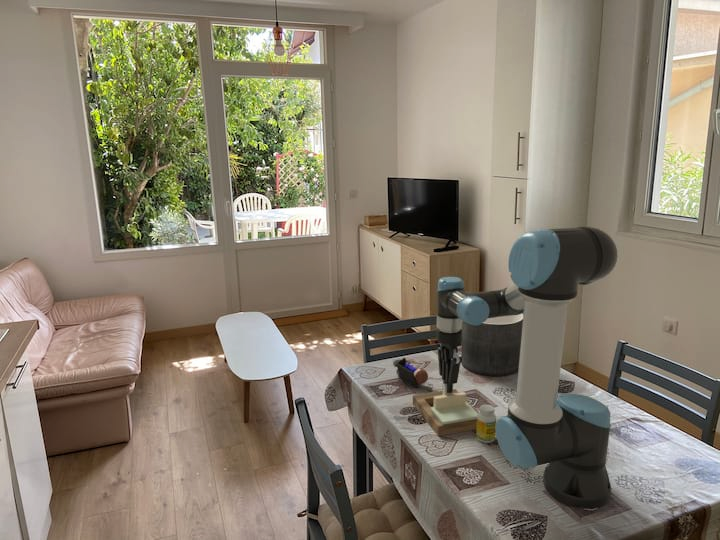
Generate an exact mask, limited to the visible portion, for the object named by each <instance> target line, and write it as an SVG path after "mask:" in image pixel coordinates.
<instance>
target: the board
mask: <svg viewBox="0 0 720 540" xmlns="http://www.w3.org/2000/svg"><path fill="white" fill-rule="evenodd" d="M453 393H460V392H459V391H458V390H457V389H456V388H453ZM440 395H443V390H438V391H434V392H433V391H431V392H427V393H420V394H412V405H413V406H414V407H415V409H416V410H417V412H419V414H420V415H421V416H422V418H423V419H424V421H426V423H427V424H428V425H429V426H430V428H431V429H432V430H433V432H434V433H435V434H436V436H438V437H441V436H446V435H450V434H457V433H463V432H468V431H475V430H477V419H474V420H468V421H462V422H456V423H450V424H444V425H443V424H442V423H441V422H440V421H439V420H438V418H437V417H436V416H435V415H434V414H433V412H432V411H431V410H430V407H433V403H434V396H440ZM466 402H467V403H468V404H469V405H470V406H471V407H472V408H473V409H474V410H475V411H476V412H477V413H479V412H480V411H478V410H477V409H476V408H475V407H474V406H473V404H471V403H470V402H469V401H468V400H467V399H466Z"/></svg>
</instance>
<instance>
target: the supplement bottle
mask: <svg viewBox="0 0 720 540" xmlns="http://www.w3.org/2000/svg"><path fill="white" fill-rule="evenodd" d="M478 412H479V413H478V415H477V429H476V433H475V434H476V439H477V440H478V441H480V442H482V443H487V444H488V443H493V442H494V441H496V437H497V436H496V428H495V427H496V422H497V416H496V414H495V407H494V406H492V405H491V404H481V405H480V406H479V411H478Z"/></svg>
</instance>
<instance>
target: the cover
mask: <svg viewBox="0 0 720 540" xmlns="http://www.w3.org/2000/svg"><path fill="white" fill-rule="evenodd" d="M466 400H467V393H466V392H465V391H461V392H459V393H453V394H447V395H440V396H434V403H433V407H430V410H431V411H432V412H433V414H434V415H435V416H436V417H437V418H438V420H439V421H440V422H441V423H442V424H443V425H444V424H450V423H456V422H462V421H468V420H474V419H477V415H478V413H477V412H476V411H475V410H474V409H473V408H472V407H471V406H470V405H469V404H468V403H467V402H466Z"/></svg>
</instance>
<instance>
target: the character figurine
mask: <svg viewBox="0 0 720 540" xmlns="http://www.w3.org/2000/svg"><path fill="white" fill-rule="evenodd" d="M392 364H393V367H394V368H397V369H396V371H395V372H396V375H398V376H400V379H401V380H403V381H404V382H407V383H408V384H409V385H411V386H412V387H414V388H416V389H418V388H419V385H418V384H421V385H423V384H425V383H426V382H427V381H428V379H429V373H428V372H427V370H425V369H423V368H416V367H414V366H412V365H411V363H410V362H409V361H408V360H407V359H406V357H403V358H402V359H396V360H394V361H393V363H392Z"/></svg>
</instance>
